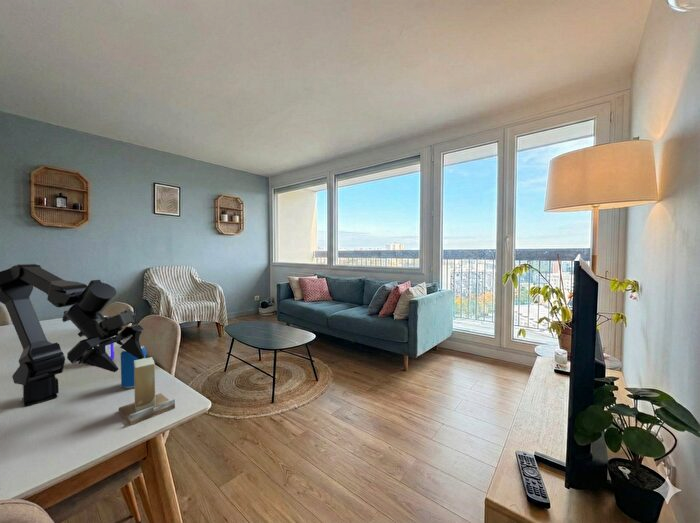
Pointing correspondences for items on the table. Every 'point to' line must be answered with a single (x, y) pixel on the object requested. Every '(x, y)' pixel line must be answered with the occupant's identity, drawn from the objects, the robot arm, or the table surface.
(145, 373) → the skincare box
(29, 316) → the robot arm
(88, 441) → the table surface
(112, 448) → the table surface
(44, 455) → the table surface
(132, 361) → the beverage can
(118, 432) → the table surface
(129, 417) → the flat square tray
